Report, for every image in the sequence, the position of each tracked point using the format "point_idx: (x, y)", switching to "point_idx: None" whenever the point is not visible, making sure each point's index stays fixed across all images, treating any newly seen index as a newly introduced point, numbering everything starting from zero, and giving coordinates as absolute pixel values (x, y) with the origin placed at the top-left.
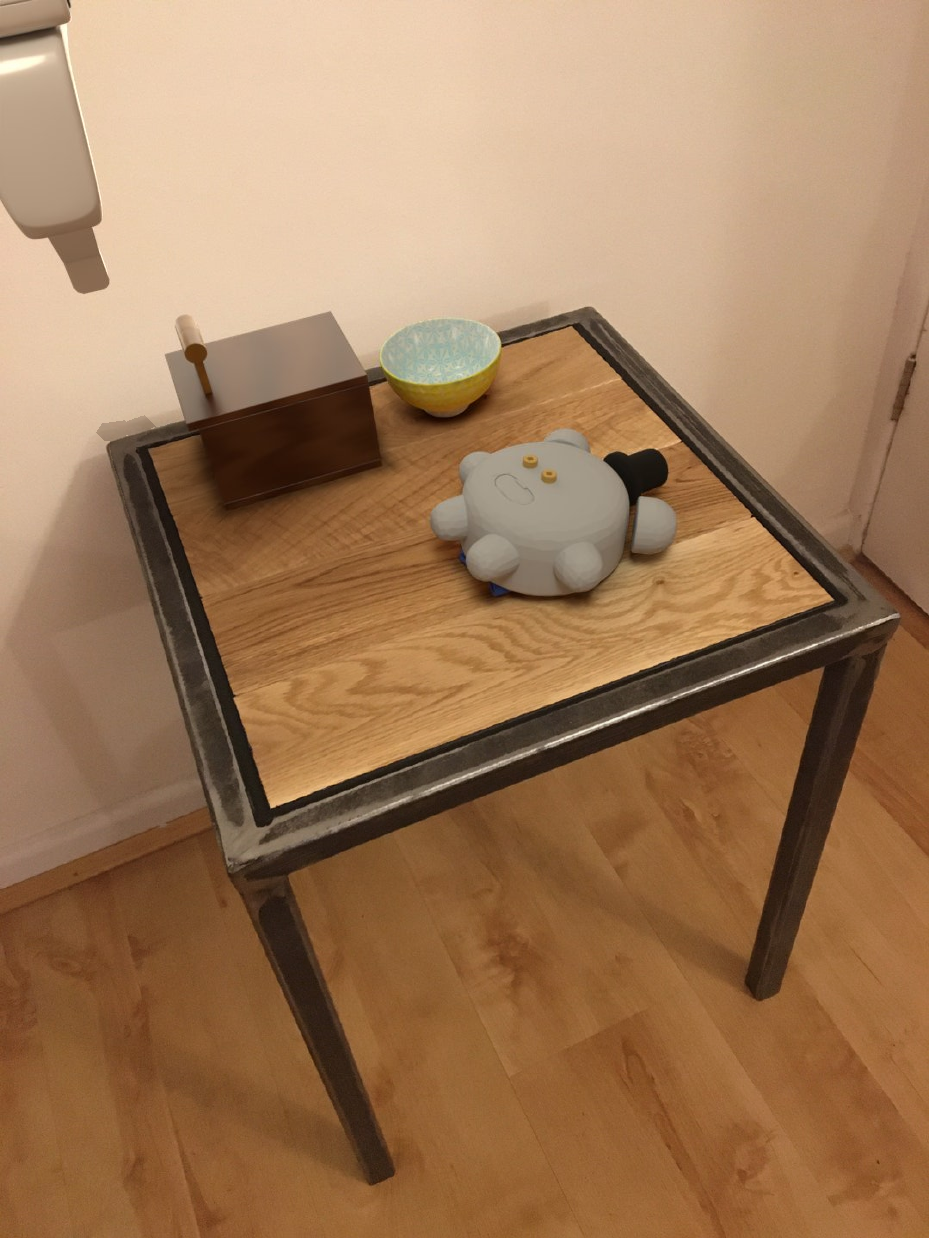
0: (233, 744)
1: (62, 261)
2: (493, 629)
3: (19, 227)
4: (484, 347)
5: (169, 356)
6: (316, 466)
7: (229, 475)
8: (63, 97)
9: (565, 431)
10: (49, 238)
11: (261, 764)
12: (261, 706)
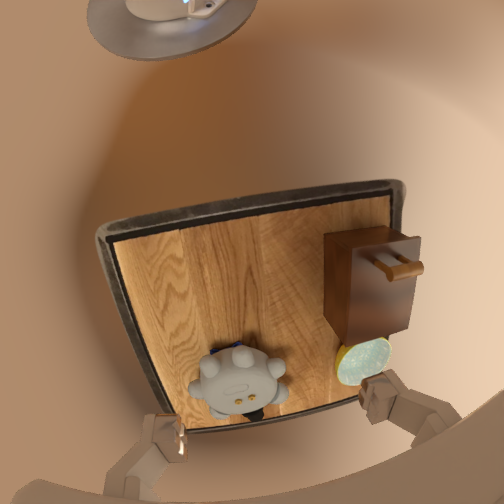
0: (149, 227)
1: (136, 444)
2: (193, 344)
3: (23, 487)
4: (363, 373)
5: (417, 240)
6: (328, 290)
7: (332, 248)
8: None
9: (281, 401)
10: (107, 473)
11: (135, 240)
12: (169, 242)
